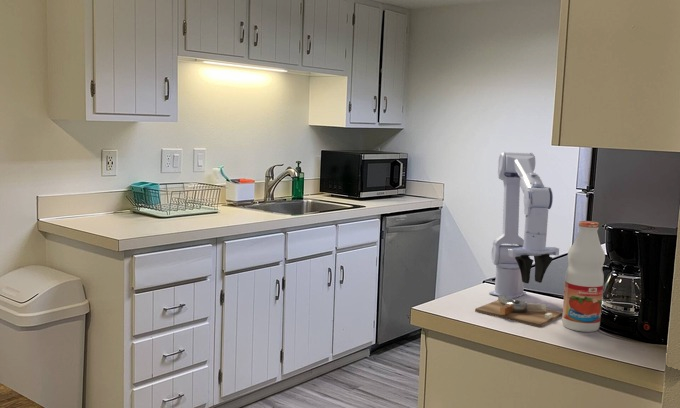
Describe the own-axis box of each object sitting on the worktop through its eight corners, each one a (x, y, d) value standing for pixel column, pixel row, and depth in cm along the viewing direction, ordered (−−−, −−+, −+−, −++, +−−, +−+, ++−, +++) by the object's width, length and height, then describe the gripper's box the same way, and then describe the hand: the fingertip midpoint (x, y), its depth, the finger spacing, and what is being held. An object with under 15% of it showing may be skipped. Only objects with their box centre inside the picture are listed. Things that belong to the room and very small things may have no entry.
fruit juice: (590, 321, 178) (599, 219, 174) (605, 333, 168) (615, 225, 165) (556, 321, 177) (564, 218, 174) (569, 332, 168) (578, 224, 164)
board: (500, 301, 195) (500, 298, 195) (562, 315, 182) (562, 312, 182) (475, 311, 184) (475, 308, 184) (539, 327, 171) (539, 324, 171)
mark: (548, 316, 179) (548, 312, 178) (552, 317, 178) (552, 313, 178) (544, 318, 177) (544, 314, 177) (548, 319, 176) (548, 315, 176)
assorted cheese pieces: (499, 301, 192) (500, 292, 191) (547, 311, 182) (548, 302, 182) (478, 309, 182) (478, 300, 182) (527, 321, 173) (527, 311, 172)
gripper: (520, 235, 168) (517, 287, 170) (567, 234, 173) (563, 284, 175) (505, 231, 175) (502, 280, 177) (551, 229, 180) (547, 278, 181)
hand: (531, 282), depth 176 cm, fingers open, 3 cm apart
